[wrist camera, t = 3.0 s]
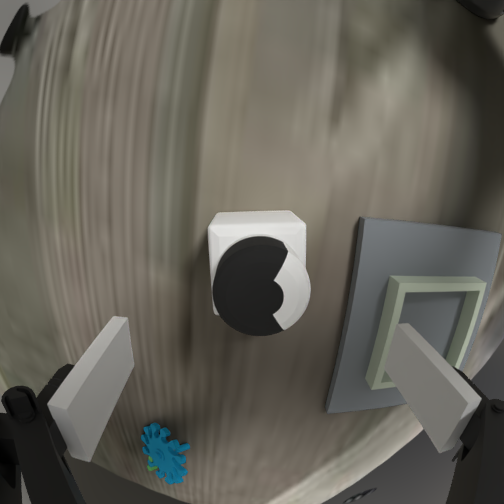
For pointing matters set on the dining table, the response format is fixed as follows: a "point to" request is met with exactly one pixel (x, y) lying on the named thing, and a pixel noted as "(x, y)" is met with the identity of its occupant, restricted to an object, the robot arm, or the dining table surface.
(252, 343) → the dining table surface
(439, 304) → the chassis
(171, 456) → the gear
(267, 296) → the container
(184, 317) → the dining table surface
